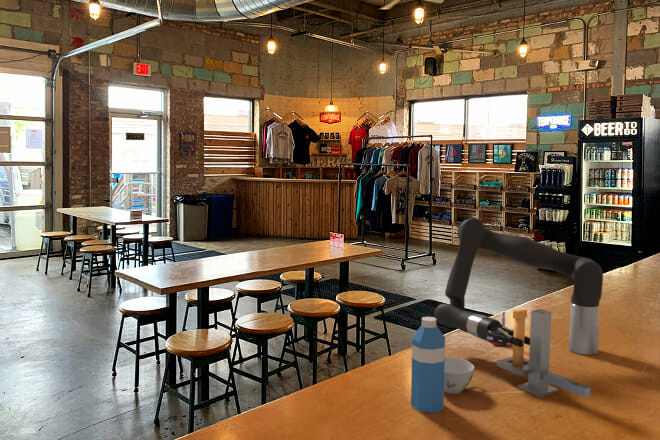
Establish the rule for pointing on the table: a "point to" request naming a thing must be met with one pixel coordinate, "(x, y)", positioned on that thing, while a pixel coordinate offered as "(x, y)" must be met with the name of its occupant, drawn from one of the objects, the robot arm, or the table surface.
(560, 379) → the scaffold post with crossbars
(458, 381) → the teacup
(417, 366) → the water bottle
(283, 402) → the table surface
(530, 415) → the table surface
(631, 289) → the table surface
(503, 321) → the red handwheel with stem
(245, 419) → the table surface
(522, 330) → the wedge pin
